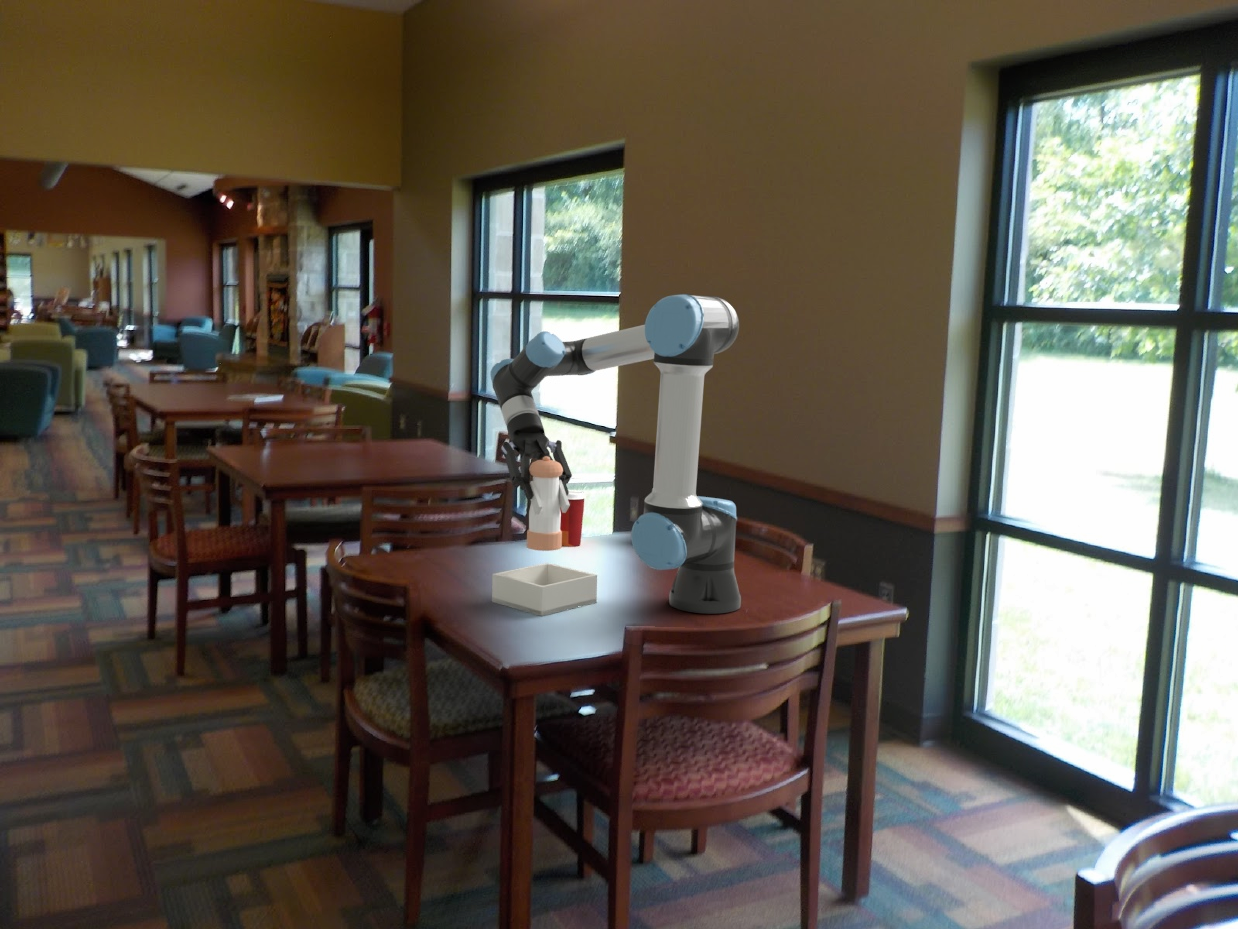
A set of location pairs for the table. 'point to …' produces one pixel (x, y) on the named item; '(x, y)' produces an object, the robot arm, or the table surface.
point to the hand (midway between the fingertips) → (552, 509)
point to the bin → (544, 589)
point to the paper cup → (572, 519)
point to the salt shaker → (545, 507)
